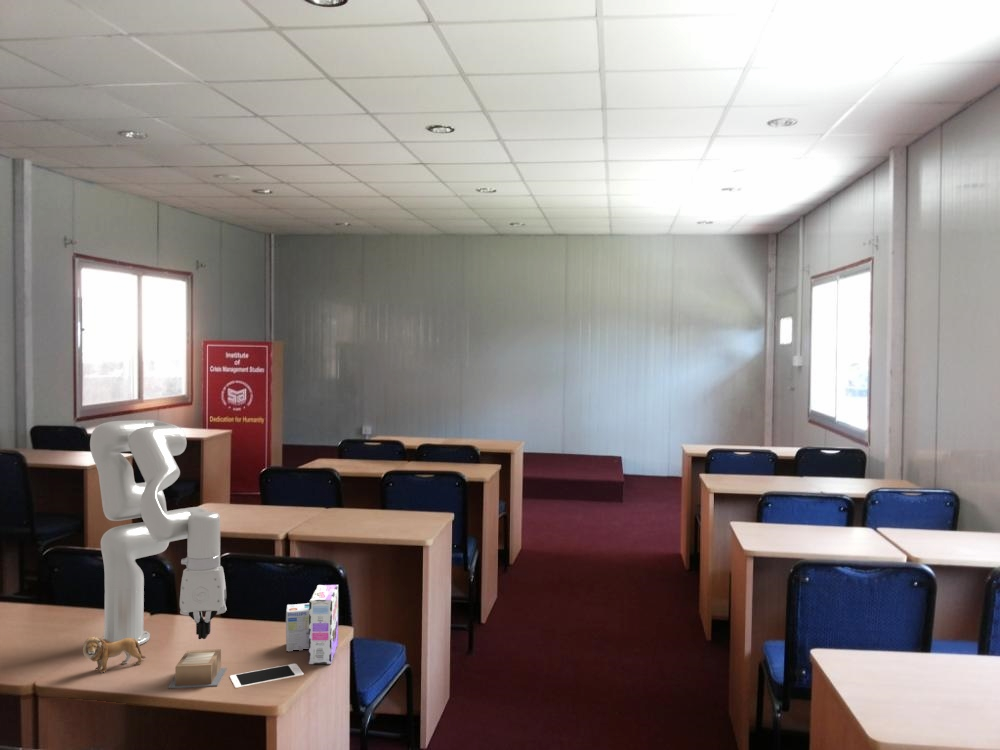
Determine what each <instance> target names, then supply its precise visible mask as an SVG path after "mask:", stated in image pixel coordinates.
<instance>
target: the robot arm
mask: <svg viewBox="0 0 1000 750" xmlns="http://www.w3.org/2000/svg"><path fill="white" fill-rule="evenodd" d="M187 443H188V442H187V437H186V433H185V432H184V430H182V429H181V428H180V427H179V426H177V425H176V424H172V423H167V422H165V421H161V420H157V419H137V420H135V419H133V420H132V419H130V420H115V421H113V420H112V421H107V422H104V423H101V424H99V425H98V424H97V426H96V427H95V428H94V429H93V430H92V432H91V435H90V440H89V447H90V453H91V456H92V459H93V462H94V464H95V467H96V469H97V474H98V479H99V481H98V482H99V489H100V497H101V505H102V506H101V507H102V510H103V514H104V516H105V518H106V519H107V520H109V521H112V522H113V521H114V522H117V521H118V522H119V521H126V520H132V519H138V518H139V519H140V518H141V519H142V520H143V522H136V523H135V522H134V523H128V524H123V525H118V526H114V527H111V528H109V529H108V530H107V531H105V532H104V533H103V534H102V536H101V539H100V550H101V551H100V552H101V555H102V556H101V557H102V560H103V569H104V570H103V571H104V632H103V633H104V635H103V636H101V637H99V638H100V639H106V640H108V641H110V642H116V641H120V640H122V639H125V638H133V639H135V640H136V641H137V642H138V643H139V645H143V644H145V643H146V642H148V641H149V640H150V638H151V637H150V636H151V635H150V634H151V633H150V632H148V631H147V630H144V624H145V623H144V621H145V618H144V613H145V612H144V609H145V607H144V602H145V598H144V597H145V596H144V595H145V591H144V588H145V587H144V586H145V578H144V577H145V576H144V572H143V570H142V569H141V567H140V566H139V565H138V563H137V562H136V560H137V559H141V558H146V557H149V556H154V555H157V554H162V553H163V552H165V551H166V550H167V548H168V547H169V544H170V543H171V542H175V541H180V540H185V539H187V542H186V543H187V555H186V557H185V558H182V559H181V561H180V564H181V565H185V566H186V568H185V569H183V571H182V577H181V583H180V593H179V594H180V595H179V609H180V611H179V613H180V615H183V616H189V617H190V618H191V620H193V621H194V623H195V633H196V634H195V635H198V636H197V637H198V639H197V640H201V639H203V640H205V639H207V638H208V636H209V635H210V634H211V621H212V620H213V618H214V617H215V616H216V615H221V614H224V613H226V611H228V610H227V606H226V602H227V586H226V579H225V578H226V577H225V572H224V571H225V570H224V567H223V566H222V565H221V516H220V514H219V513H218V512H216V511H209V510H205V508H203V507H199V506H193V507H185V508H178V509H173V510H172V509H171V510H168V509H167V501H166V497H165V494H164V490H165V489H167V488H168V487H170V486H172V485H173V484H174V483H175V482H176V481H177V480H178V478H179V477H180V476H181V470H180V468H179V466H178V464H177V462H176V460H175V458H174V457H175V456H180V455H181V454H183V453H184V452H185V450H186V448H187ZM124 452H131V454H132V456H133V457H132V458H133V459H134V461H135V463H136V465H137V467H138V469H139V471H140V474H141V476H142V477H143V480H144V482H136V481H135V475H134V468H133V466H132V464H131V462H130V461H129V460H128V459H127V458H126V457H125V455H123V454H122V453H124ZM203 612H205V616H204V617H203Z"/></svg>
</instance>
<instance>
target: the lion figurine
mask: <svg viewBox="0 0 1000 750" xmlns="http://www.w3.org/2000/svg"><path fill="white" fill-rule="evenodd" d="M100 638H101V637H99V636H98V637H97V636H93V637H91V636H90V637H88V638H87V639H85V641H84V642H83V646H82V653H83V655H84V657H85V658H87V659H89V660H90V661H92V662H96V663H97V666H96V667H95V669H100V670H99V671H100V672H105V671H106V672H107V668H108V667H107V666H108V665H107V664H108V660H109V659H111V658H115V657H116V658H117V657H118V656H120V655H122V654H123V653H124V654H125V656H126V657H125V659H124V660H122V661H121V664H123V665H125V664H128V662H129V661H130V659H131V658H132V657H133V658H135V659H137V660H138V661H136V662H135V665H136V666H139V665H142V662H143V661H142V660H143V659H146V658H147V657H146V656H145V655H143V653H142V650H141V646H140V645H139V643H138V642H137V641H136V640H135V639H133V638H125V639H122V640H120V641H116V642H110V641H108V640H106V639H100ZM106 672H105V673H106Z"/></svg>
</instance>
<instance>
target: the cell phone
mask: <svg viewBox="0 0 1000 750" xmlns="http://www.w3.org/2000/svg"><path fill="white" fill-rule="evenodd" d="M301 676H304V672H303V671H302V670H301V668H300V666H299V665H298V664H297V663H290V664H285V665H281V666H280V665H277V666H275V667H268V668H263V669H259V670H252V671H248V672H242V673H236V674H230V676H229V679H230V680H231V682H232V685H233V687H234V688H235V689H239V688H245V687H250V686H255V685H261V684H265V683H271V682H276V681H282V680H286V679H291V678H295V677H301Z"/></svg>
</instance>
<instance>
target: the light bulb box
mask: <svg viewBox="0 0 1000 750" xmlns="http://www.w3.org/2000/svg"><path fill="white" fill-rule="evenodd" d="M285 611H286V612H285V634H286V635H285V640H286V641H285V644H286V646H285V649H286V651H288V652H294V651H293V650H299V651H304V650H303V649H309V602H307V603H297V604H296V603H295V604H287V605H286V610H285ZM286 651H285V652H286Z"/></svg>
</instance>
